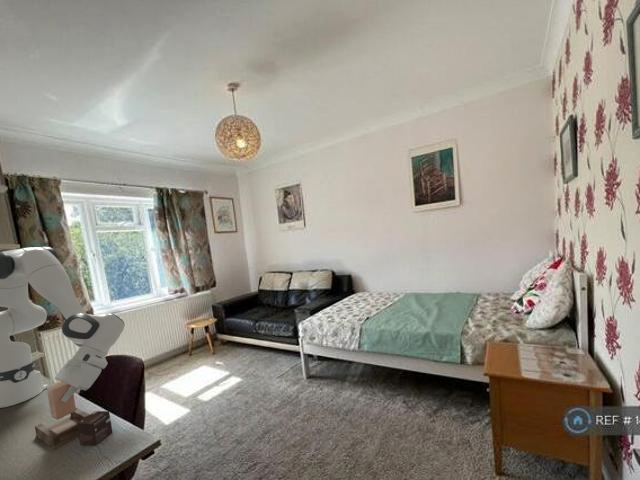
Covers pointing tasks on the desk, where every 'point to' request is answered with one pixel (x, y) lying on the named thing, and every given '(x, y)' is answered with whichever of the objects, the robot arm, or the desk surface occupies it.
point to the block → (58, 406)
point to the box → (94, 428)
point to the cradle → (61, 430)
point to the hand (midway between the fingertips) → (58, 399)
